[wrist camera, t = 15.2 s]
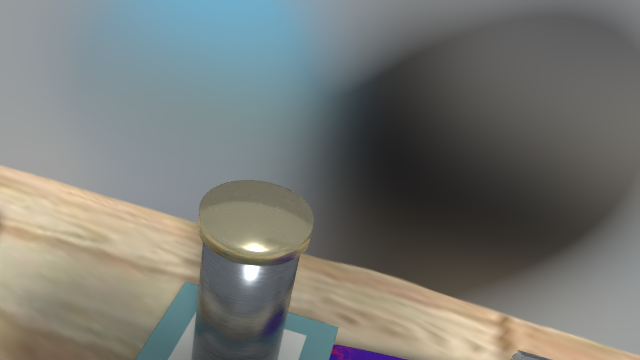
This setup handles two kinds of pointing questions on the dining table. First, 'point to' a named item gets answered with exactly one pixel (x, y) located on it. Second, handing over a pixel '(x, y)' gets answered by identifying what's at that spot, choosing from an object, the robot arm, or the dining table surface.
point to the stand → (179, 323)
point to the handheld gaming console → (357, 354)
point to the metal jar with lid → (247, 268)
